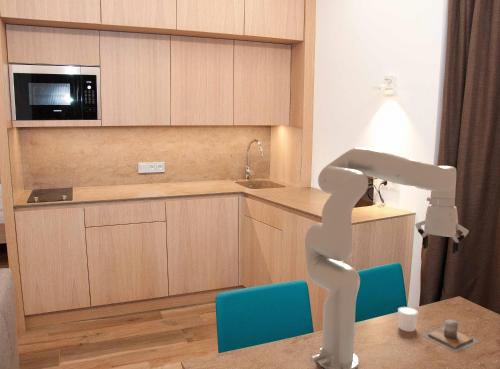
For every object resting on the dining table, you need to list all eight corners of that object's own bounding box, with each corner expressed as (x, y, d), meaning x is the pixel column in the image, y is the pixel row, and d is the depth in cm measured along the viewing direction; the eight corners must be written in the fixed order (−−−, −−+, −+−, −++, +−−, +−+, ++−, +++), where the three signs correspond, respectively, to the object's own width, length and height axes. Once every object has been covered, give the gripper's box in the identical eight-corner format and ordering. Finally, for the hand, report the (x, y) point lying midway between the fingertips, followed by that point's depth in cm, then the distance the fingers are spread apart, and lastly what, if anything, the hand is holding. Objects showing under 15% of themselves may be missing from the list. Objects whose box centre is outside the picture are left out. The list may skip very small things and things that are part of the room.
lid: (454, 348, 148) (455, 332, 147) (428, 336, 156) (429, 320, 155) (472, 340, 153) (474, 324, 152) (446, 328, 161) (447, 313, 160)
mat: (455, 353, 146) (455, 352, 146) (421, 336, 157) (421, 335, 156) (479, 342, 152) (479, 341, 152) (444, 327, 163) (445, 326, 163)
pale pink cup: (419, 333, 159) (421, 314, 158) (400, 333, 159) (401, 314, 158) (413, 324, 166) (414, 306, 164) (394, 324, 166) (395, 306, 165)
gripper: (413, 201, 158) (411, 248, 161) (467, 207, 147) (464, 257, 150) (420, 197, 164) (418, 243, 166) (472, 203, 153) (469, 251, 156)
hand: (439, 250), depth 158 cm, fingers open, 9 cm apart
